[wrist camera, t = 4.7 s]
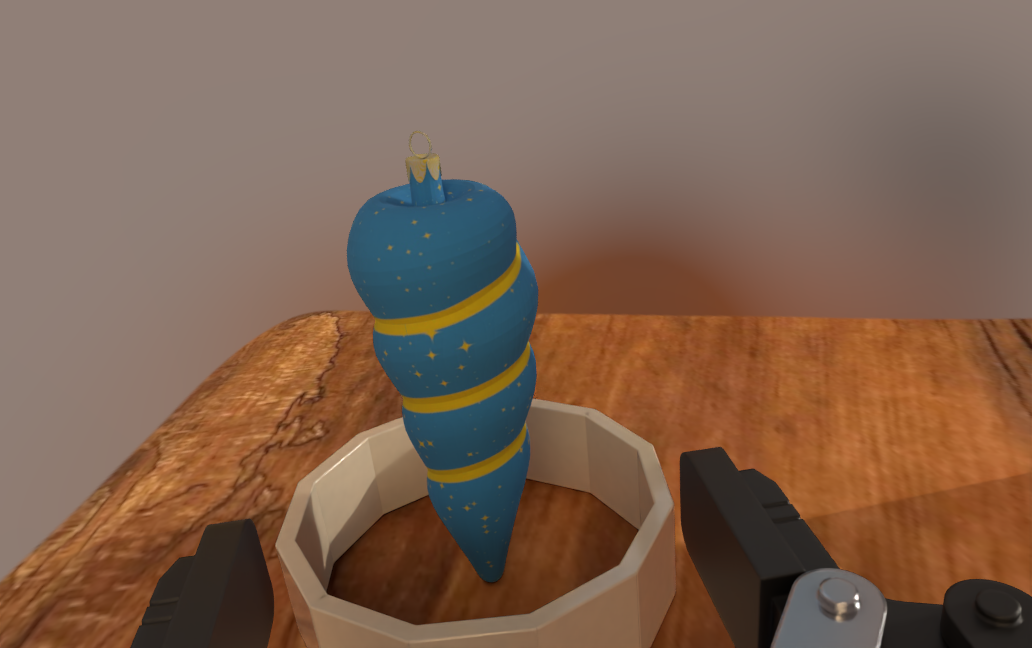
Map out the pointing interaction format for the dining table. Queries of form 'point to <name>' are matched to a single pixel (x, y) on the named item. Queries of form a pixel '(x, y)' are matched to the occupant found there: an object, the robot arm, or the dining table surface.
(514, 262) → the ornament
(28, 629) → the dining table surface
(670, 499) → the faceted beige ring
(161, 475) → the dining table surface
